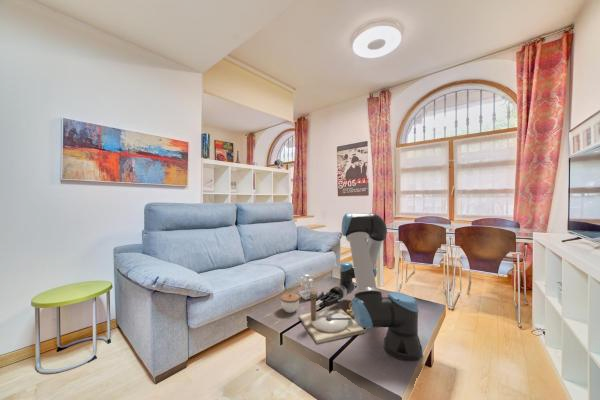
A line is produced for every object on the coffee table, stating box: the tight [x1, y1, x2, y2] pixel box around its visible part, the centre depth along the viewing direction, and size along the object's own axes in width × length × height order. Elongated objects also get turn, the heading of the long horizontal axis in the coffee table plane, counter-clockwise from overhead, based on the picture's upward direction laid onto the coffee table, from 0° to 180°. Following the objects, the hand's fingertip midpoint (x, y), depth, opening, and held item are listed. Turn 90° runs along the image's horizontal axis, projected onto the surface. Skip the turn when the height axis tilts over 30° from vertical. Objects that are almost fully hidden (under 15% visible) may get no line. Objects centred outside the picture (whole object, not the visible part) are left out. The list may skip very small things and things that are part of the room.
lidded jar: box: [280, 292, 300, 314], centre depth 138 cm, size 11×11×9 cm
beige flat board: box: [298, 307, 366, 344], centre depth 122 cm, size 24×25×2 cm
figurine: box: [299, 273, 314, 301], centre depth 154 cm, size 7×9×15 cm
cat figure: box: [345, 301, 355, 319], centre depth 136 cm, size 10×9×25 cm
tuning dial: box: [310, 291, 351, 332], centre depth 122 cm, size 21×19×15 cm
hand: (314, 307), depth 124 cm, fingers closed
